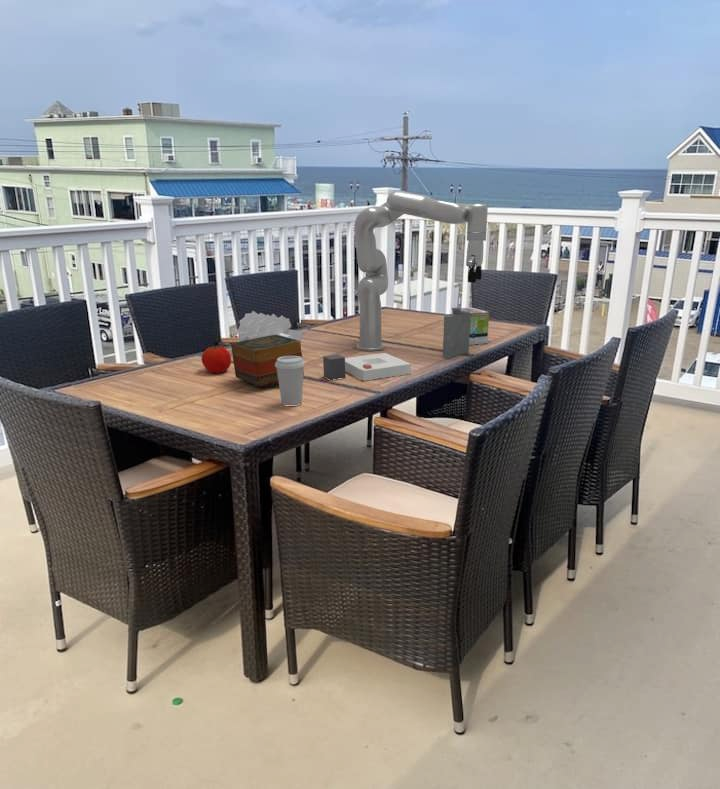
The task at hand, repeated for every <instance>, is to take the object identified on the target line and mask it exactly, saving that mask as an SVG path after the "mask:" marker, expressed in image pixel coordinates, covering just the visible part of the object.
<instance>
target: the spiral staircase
mask: <svg viewBox="0 0 720 789" xmlns="http://www.w3.org/2000/svg"><path fill="white" fill-rule="evenodd" d="M238 322H239V324H240V325H239V327H238V329H237V331H236V333H237V334H238V342H241V341H245V340H251V339H255V338H260V337H265V336H270V335H280V336H284V337H287V338H291V339H295V340H298V341H300V343H301V344H302V337H303V333H304V332H303V331H300V330H296V329H291V328H292V324H291V321H290V318H286V317H285V316H283V314H282V315H280V316H279V317H278V316H277V315H276V314H274V313H272V315H269V314H264V313H262V312H260V313H258V312H256V311H254V310H252V312H250V313H245V314H244V317H242V319H240V320H239V321H238Z"/></svg>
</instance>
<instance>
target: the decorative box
mask: <svg viewBox="0 0 720 789" xmlns="http://www.w3.org/2000/svg"><path fill="white" fill-rule="evenodd" d="M230 346H231V354H232V362H233V367H234V375H235V377H236V378H238V379H240V380H241V381H244V382H246V383H248V384H250V385H253V384H254V386H256V387H257V388H266V387H270V386H273V385H277V384H279V381H278V374H277V368H276V367H275V363H276V362H277V359H278V358H279V357H283V356H299V357H302V358H303V353H302V352H303V351H302V342H301V343H300V341H298V340H295V339H291V338H287V337H284V336H280V335H270V336H265V337H260V338H255V339H251V340H245V341H241V342H239V341H237V342H236V341H235V342H232V343H231V344H230ZM303 376H305V370H304V369H303Z"/></svg>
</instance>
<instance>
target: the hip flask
mask: <svg viewBox="0 0 720 789" xmlns="http://www.w3.org/2000/svg"><path fill="white" fill-rule="evenodd" d="M461 308H462V307H452V308H451V313H449V314H447V315H444V317H443V338H442V339H443V343H442V344H443V345H442V349H443V350H442V359H443V358H444V359H443V360H450V358H451V359H453V358H455V357H458V356H457V355H459V356H462V355H466V354H465V353H467V354H469V348H470V345H469V330H470V312H468V311H464V312H462V311H461V312H460V310H461ZM461 354H462V355H461ZM452 357H453V358H452Z"/></svg>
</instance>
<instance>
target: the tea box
mask: <svg viewBox="0 0 720 789" xmlns="http://www.w3.org/2000/svg"><path fill="white" fill-rule="evenodd" d="M460 308H461V310H460V312H461V311H462V312H464V311H468V312H470V330H469V346H476V345H475V344H478V345H485V344H484V343H486V344H488V340H489V339H488V338H489V324H490V323H489V322H490V321H489V319H490V312H489V311H488V310H483V309H479V308H475V307H470V306H469V307H460Z"/></svg>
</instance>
